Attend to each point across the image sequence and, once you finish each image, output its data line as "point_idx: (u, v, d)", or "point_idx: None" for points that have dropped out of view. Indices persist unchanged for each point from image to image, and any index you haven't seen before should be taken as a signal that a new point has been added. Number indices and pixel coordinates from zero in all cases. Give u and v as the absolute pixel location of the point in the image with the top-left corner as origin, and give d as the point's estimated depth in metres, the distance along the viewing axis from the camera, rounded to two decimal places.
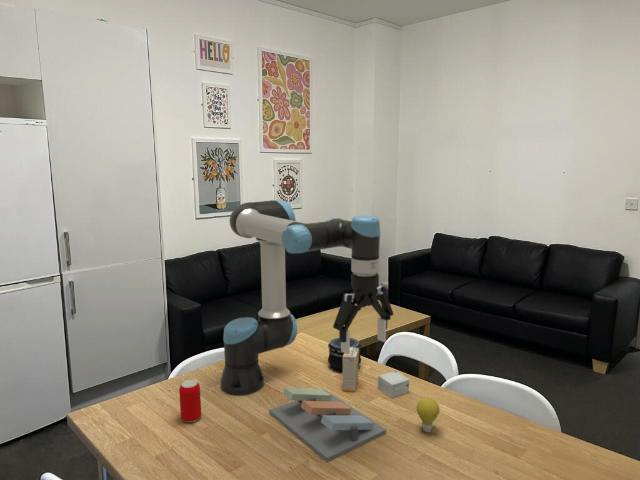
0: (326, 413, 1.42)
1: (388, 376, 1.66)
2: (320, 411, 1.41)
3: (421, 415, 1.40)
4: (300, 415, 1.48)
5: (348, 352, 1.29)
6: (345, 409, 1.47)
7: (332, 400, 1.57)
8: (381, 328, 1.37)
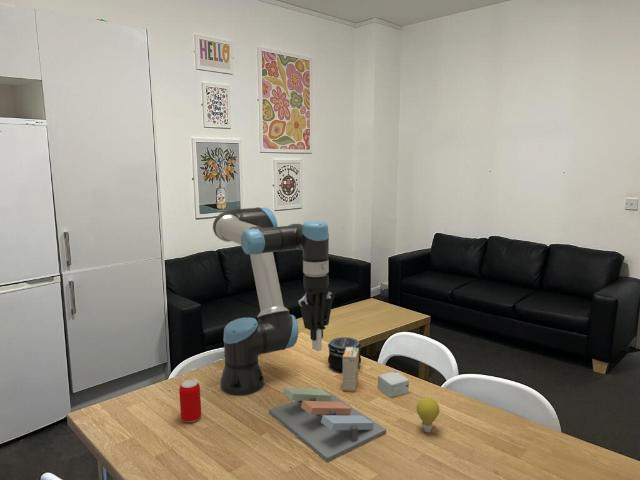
0: (326, 413, 1.42)
1: (388, 376, 1.66)
2: (320, 411, 1.41)
3: (421, 415, 1.40)
4: (300, 415, 1.48)
5: (318, 349, 1.44)
6: (345, 409, 1.47)
7: (332, 400, 1.57)
8: None
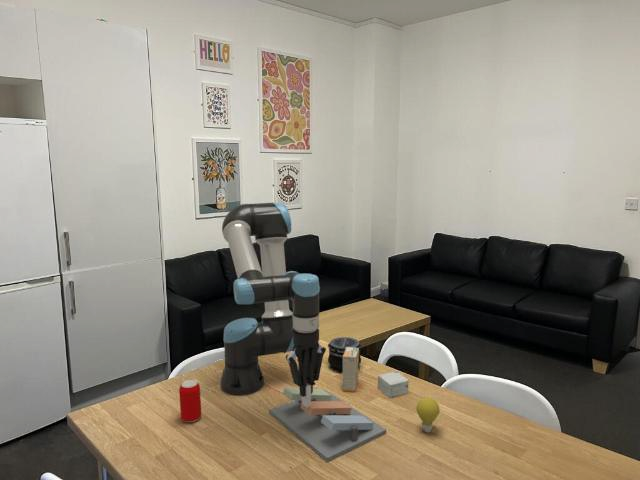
0: (326, 413, 1.42)
1: (388, 376, 1.66)
2: (319, 411, 1.41)
3: (421, 415, 1.40)
4: (300, 415, 1.48)
5: (308, 405, 1.39)
6: (345, 409, 1.47)
7: (332, 400, 1.57)
8: None
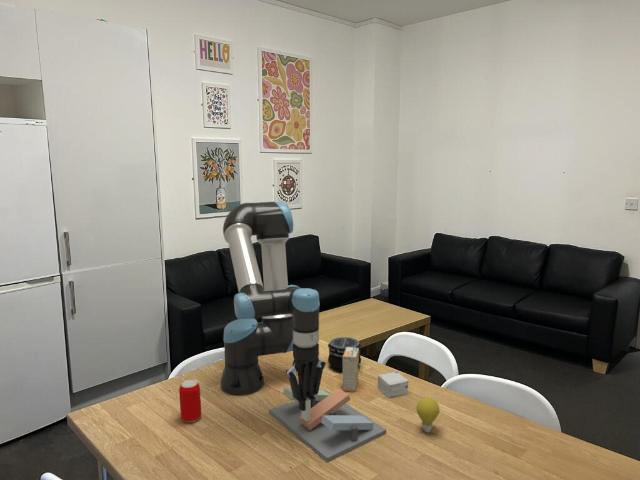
0: None
1: (388, 376, 1.66)
2: (318, 421, 1.41)
3: (421, 415, 1.40)
4: (300, 415, 1.48)
5: (307, 419, 1.40)
6: (343, 400, 1.46)
7: None
8: None
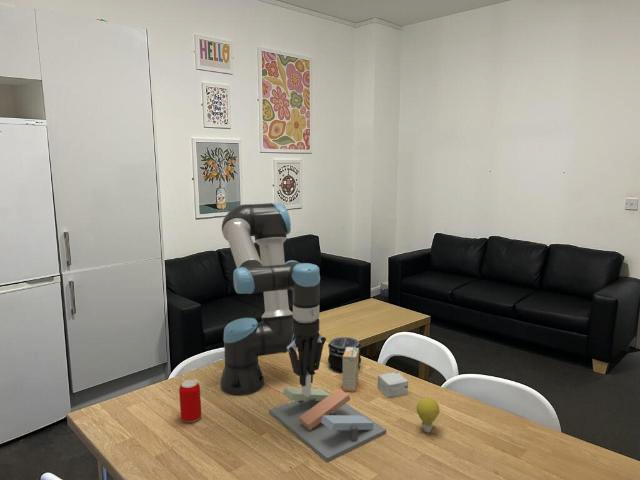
0: None
1: (387, 376, 1.66)
2: (318, 421, 1.41)
3: (421, 415, 1.40)
4: (300, 415, 1.48)
5: (307, 395, 1.39)
6: (343, 400, 1.46)
7: None
8: None
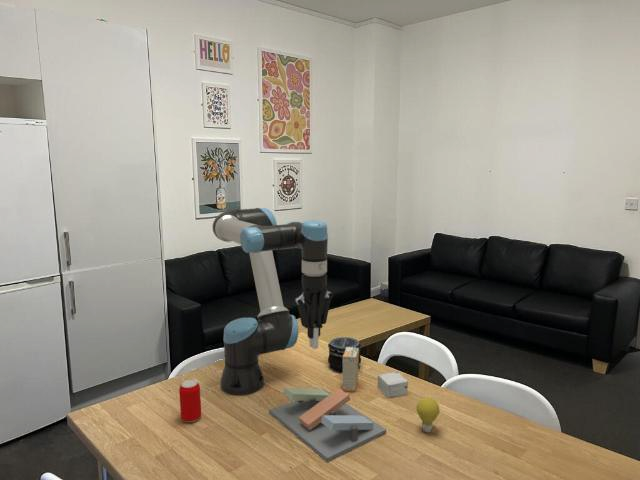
0: None
1: (387, 376, 1.66)
2: (318, 421, 1.41)
3: (421, 415, 1.40)
4: (300, 415, 1.48)
5: (315, 347, 1.46)
6: (343, 400, 1.46)
7: None
8: None
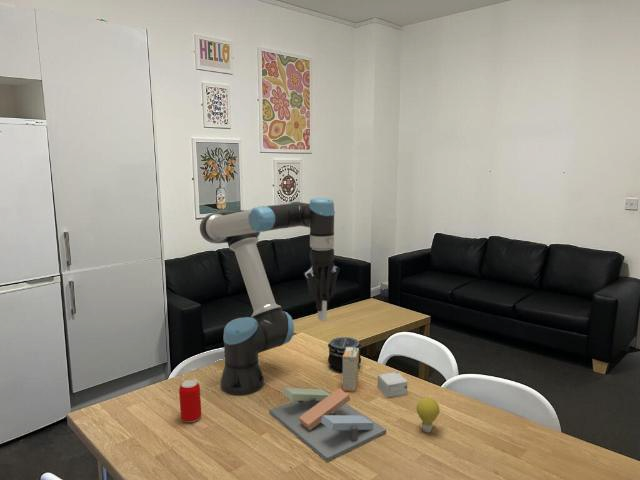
0: None
1: (387, 376, 1.66)
2: (318, 421, 1.41)
3: (421, 415, 1.40)
4: (300, 415, 1.48)
5: (323, 320, 1.52)
6: (343, 400, 1.46)
7: None
8: None
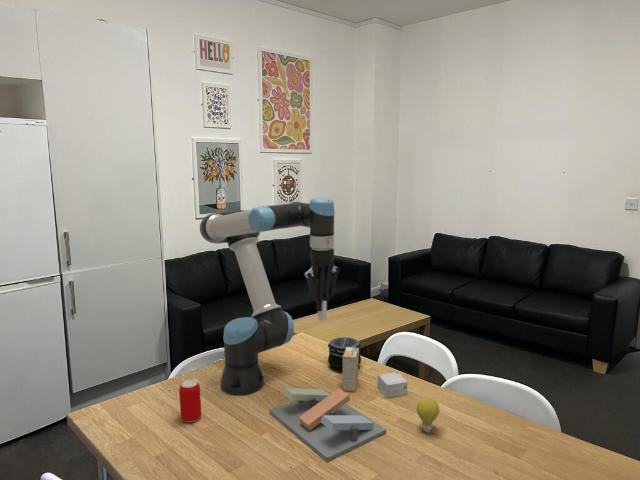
0: None
1: (387, 376, 1.66)
2: (318, 421, 1.41)
3: (421, 415, 1.40)
4: (300, 415, 1.48)
5: (323, 320, 1.52)
6: (343, 400, 1.46)
7: None
8: None
